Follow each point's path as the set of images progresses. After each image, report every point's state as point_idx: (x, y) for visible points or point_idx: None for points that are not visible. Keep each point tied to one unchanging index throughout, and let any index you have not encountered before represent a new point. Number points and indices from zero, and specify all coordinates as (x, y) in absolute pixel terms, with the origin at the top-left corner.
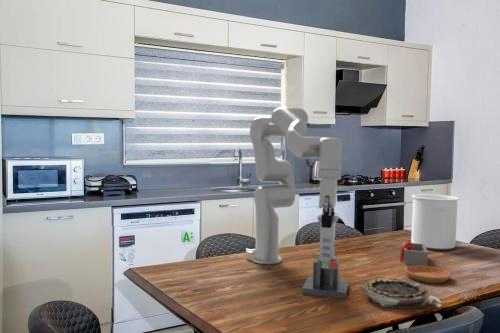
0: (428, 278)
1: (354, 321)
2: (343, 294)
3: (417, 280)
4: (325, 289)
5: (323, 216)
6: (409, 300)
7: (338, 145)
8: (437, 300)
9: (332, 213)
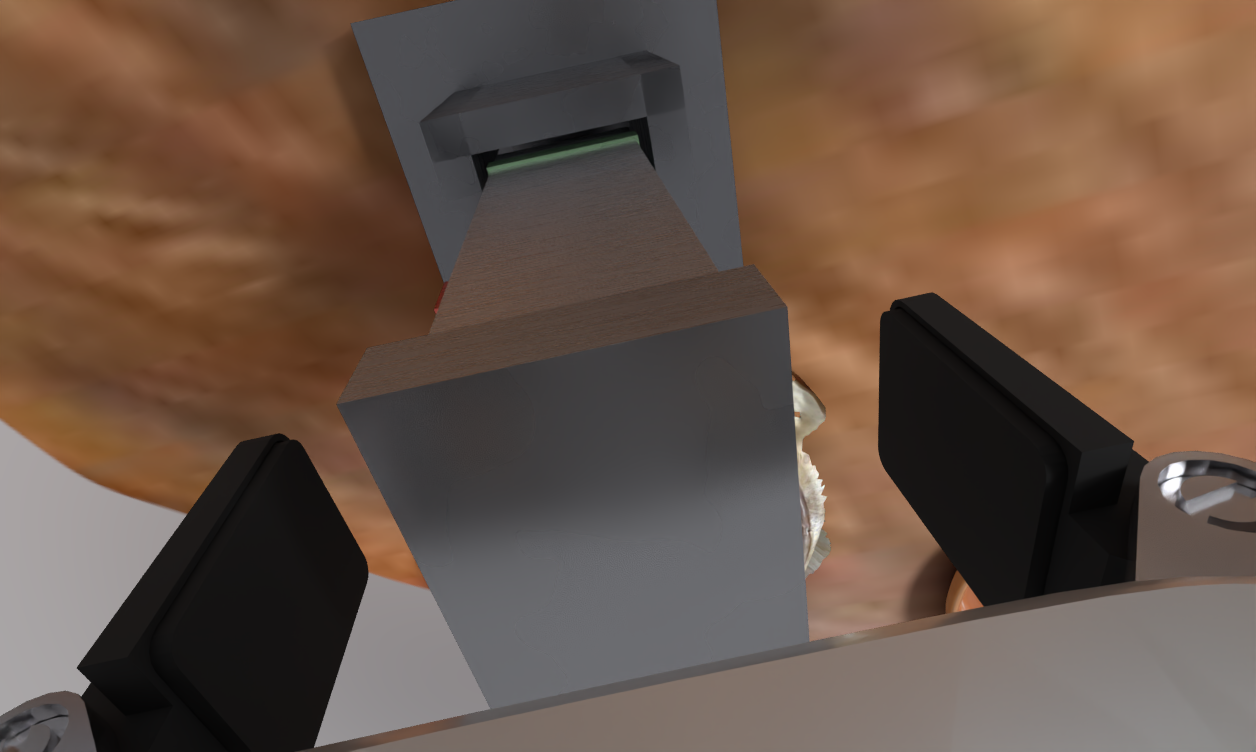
0: (948, 604)
1: (168, 457)
2: None
3: None
4: (444, 209)
5: (134, 671)
6: None
7: None
8: None
9: (990, 587)
